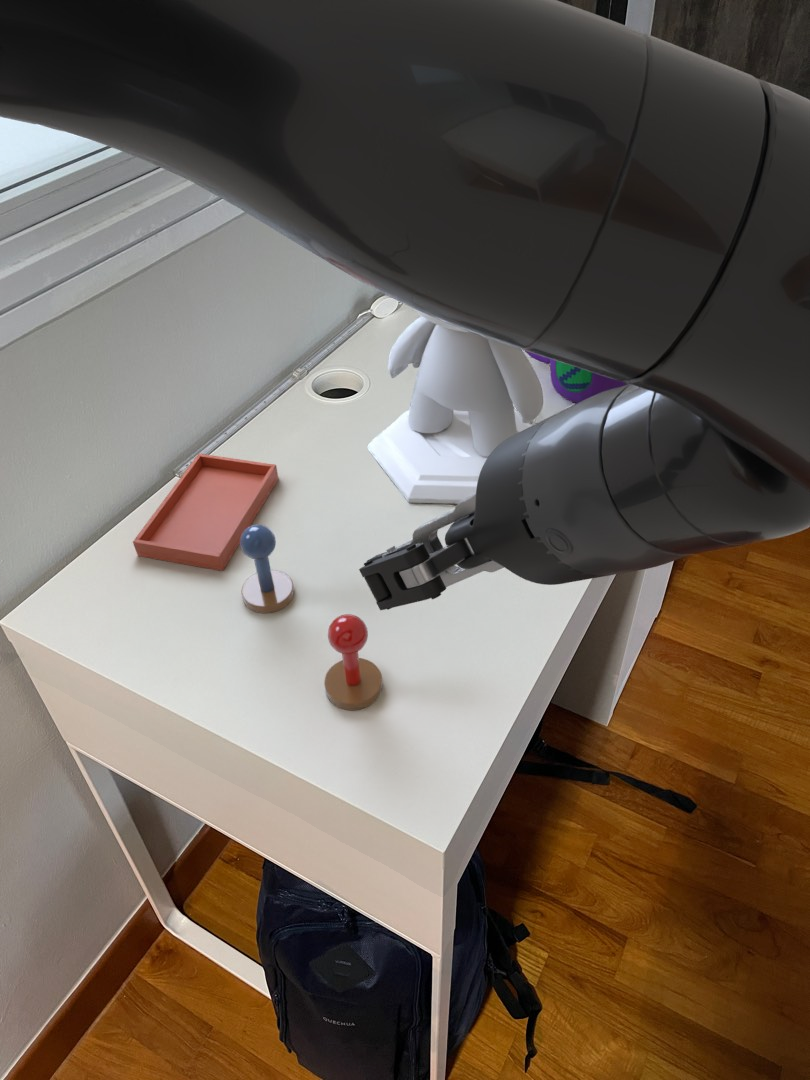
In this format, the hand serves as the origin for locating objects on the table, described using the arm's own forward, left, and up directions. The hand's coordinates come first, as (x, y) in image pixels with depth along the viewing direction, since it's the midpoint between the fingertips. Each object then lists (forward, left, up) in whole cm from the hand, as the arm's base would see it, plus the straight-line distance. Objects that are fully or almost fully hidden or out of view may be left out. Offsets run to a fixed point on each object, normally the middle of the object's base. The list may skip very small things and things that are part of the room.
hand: (433, 543), depth 50 cm
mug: (+63, -4, -26) cm, 68 cm away
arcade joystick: (+7, +9, -26) cm, 29 cm away
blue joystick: (+16, +21, -26) cm, 37 cm away
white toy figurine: (+44, +7, -26) cm, 52 cm away
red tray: (+26, +32, -26) cm, 49 cm away
